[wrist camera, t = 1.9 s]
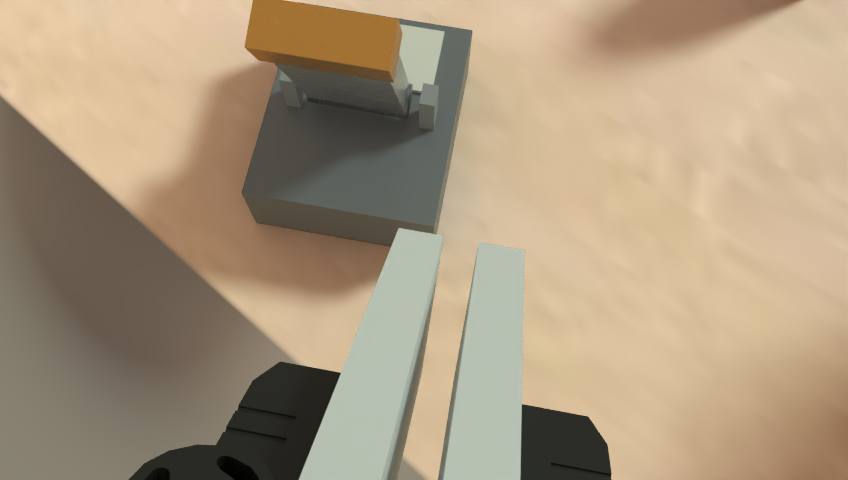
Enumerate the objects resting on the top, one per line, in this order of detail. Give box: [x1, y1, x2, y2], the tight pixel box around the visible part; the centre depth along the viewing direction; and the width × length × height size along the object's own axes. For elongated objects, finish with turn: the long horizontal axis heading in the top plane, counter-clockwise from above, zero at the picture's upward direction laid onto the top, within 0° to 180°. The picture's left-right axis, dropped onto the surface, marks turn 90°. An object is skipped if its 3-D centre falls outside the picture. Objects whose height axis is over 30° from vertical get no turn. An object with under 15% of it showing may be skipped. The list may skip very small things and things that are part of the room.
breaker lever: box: [245, 0, 413, 119], centre depth 36 cm, size 2×6×12 cm, turn 80°
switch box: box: [242, 2, 472, 246], centre depth 43 cm, size 12×10×6 cm
